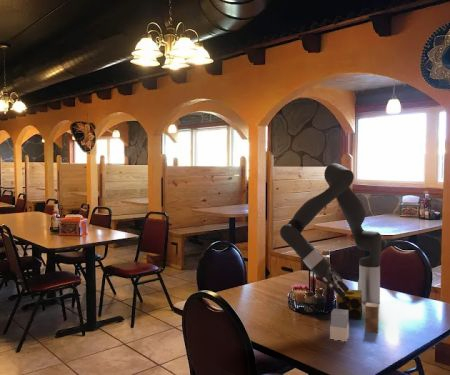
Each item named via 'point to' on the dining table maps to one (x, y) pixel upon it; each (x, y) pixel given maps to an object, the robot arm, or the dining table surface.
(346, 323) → the block
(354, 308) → the yellow patterned cube
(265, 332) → the dining table surface
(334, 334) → the tower base
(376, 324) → the pillar
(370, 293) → the robot arm
